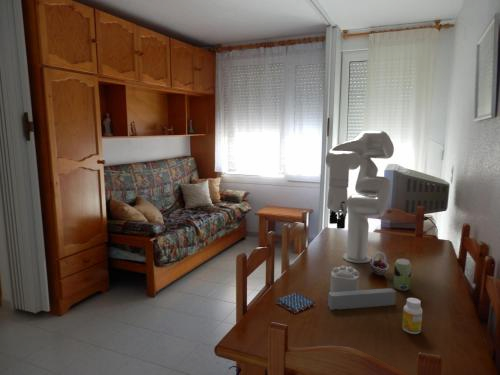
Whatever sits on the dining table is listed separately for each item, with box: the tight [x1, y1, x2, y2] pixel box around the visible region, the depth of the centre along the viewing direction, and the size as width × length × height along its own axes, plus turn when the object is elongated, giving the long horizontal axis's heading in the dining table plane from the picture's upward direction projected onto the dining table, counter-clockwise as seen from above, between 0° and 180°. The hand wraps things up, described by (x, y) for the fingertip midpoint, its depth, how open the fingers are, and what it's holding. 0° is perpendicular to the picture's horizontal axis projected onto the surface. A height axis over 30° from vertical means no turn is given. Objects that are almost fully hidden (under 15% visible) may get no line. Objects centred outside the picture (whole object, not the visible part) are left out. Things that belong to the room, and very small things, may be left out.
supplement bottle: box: [401, 297, 423, 335], centre depth 114 cm, size 5×5×10 cm
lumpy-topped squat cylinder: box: [329, 265, 360, 292], centre depth 143 cm, size 10×13×9 cm
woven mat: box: [275, 292, 316, 314], centre depth 131 cm, size 10×11×2 cm
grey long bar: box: [327, 287, 397, 311], centre depth 130 cm, size 3×24×5 cm, turn 100°
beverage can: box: [393, 258, 412, 292], centre depth 143 cm, size 6×7×12 cm
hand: (336, 225), depth 151 cm, fingers open, 7 cm apart
